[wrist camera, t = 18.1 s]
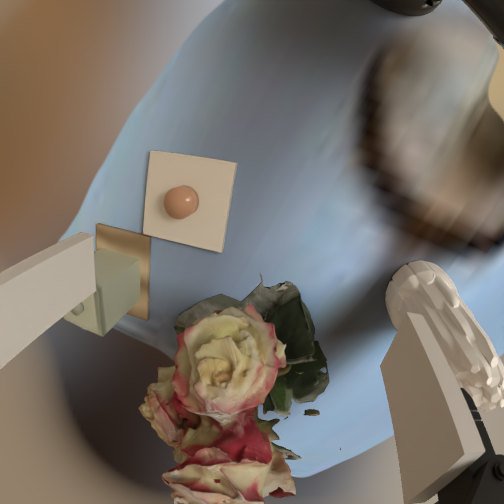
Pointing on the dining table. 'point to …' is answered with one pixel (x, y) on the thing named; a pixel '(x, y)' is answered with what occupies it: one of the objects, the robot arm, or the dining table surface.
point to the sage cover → (109, 292)
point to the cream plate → (208, 191)
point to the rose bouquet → (235, 395)
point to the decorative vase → (449, 329)
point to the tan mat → (131, 246)
